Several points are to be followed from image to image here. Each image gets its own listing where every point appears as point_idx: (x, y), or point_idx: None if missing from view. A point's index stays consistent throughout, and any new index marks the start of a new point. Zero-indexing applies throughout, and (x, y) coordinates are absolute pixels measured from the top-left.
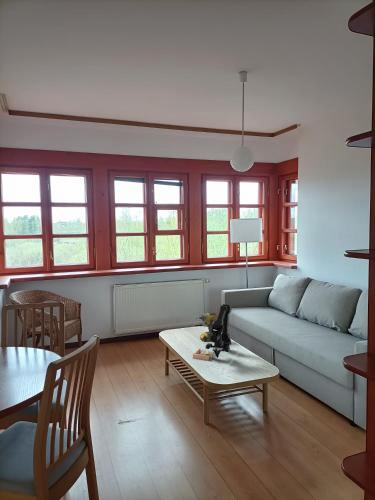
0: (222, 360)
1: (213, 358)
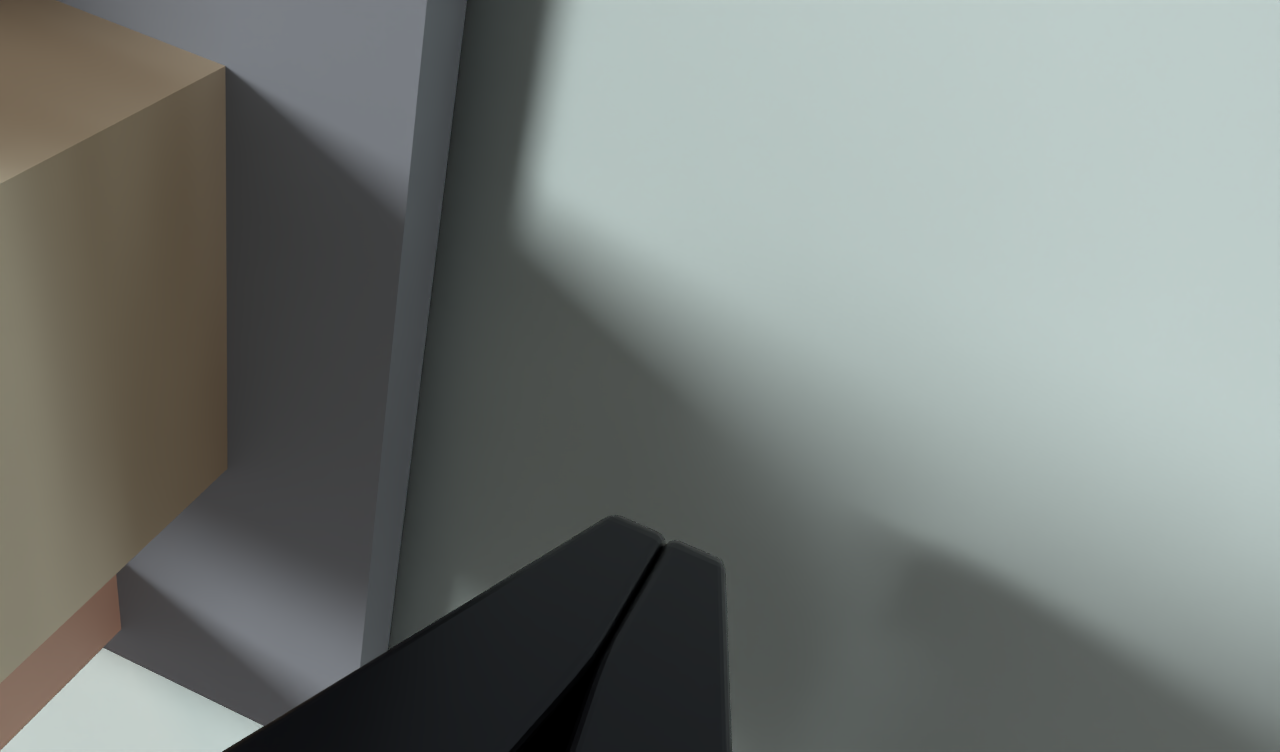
0: (1230, 613)
1: (305, 322)
